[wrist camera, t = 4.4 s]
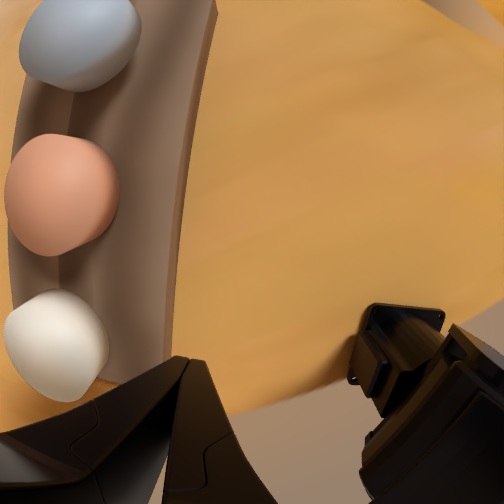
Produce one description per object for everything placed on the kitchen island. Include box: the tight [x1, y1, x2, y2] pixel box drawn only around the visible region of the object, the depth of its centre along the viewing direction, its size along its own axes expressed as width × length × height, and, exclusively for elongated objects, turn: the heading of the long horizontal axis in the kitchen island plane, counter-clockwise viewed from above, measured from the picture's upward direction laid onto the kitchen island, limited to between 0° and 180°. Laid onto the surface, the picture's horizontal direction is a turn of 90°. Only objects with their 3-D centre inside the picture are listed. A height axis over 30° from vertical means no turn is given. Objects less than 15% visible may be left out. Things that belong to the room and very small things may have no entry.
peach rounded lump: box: [4, 134, 120, 256], centre depth 16 cm, size 6×6×6 cm
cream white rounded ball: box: [4, 289, 109, 402], centre depth 16 cm, size 6×6×6 cm
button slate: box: [19, 0, 142, 92], centre depth 13 cm, size 6×6×6 cm
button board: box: [8, 0, 218, 384], centre depth 17 cm, size 12×25×2 cm, turn 171°
